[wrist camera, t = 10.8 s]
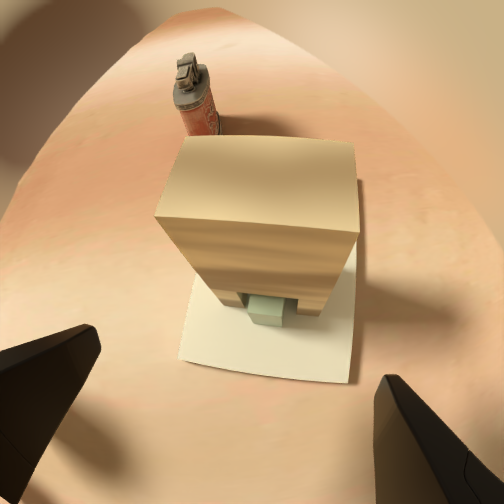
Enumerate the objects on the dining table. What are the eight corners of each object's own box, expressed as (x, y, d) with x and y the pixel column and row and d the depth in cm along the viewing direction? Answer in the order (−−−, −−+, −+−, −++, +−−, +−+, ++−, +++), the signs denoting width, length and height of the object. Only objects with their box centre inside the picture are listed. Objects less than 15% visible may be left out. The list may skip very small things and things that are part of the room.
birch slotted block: (318, 316, 19) (359, 232, 8) (223, 305, 20) (154, 216, 9) (322, 263, 21) (353, 142, 10) (233, 255, 22) (186, 136, 11)
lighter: (195, 117, 31) (173, 49, 22) (222, 112, 31) (205, 42, 22) (190, 163, 28) (158, 85, 19) (222, 158, 28) (199, 75, 19)
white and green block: (344, 382, 18) (360, 384, 14) (181, 359, 20) (156, 354, 16) (351, 177, 25) (360, 143, 21) (227, 168, 27) (218, 135, 23)
